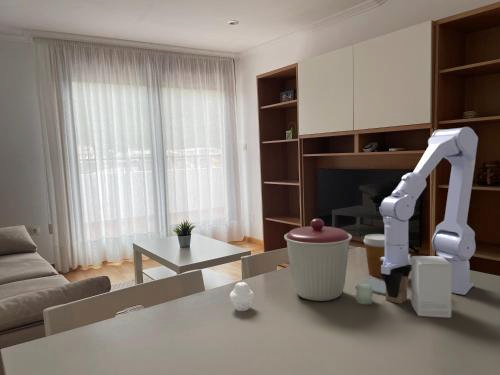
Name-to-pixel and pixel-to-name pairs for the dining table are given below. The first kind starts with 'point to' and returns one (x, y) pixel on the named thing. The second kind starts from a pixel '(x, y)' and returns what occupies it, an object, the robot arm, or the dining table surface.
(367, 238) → the disposable coffee cup
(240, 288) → the white rounded piece
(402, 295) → the walnut block
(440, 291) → the supplement box
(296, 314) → the dining table surface
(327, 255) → the canister
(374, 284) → the slate mat
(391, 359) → the dining table surface
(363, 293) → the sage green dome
